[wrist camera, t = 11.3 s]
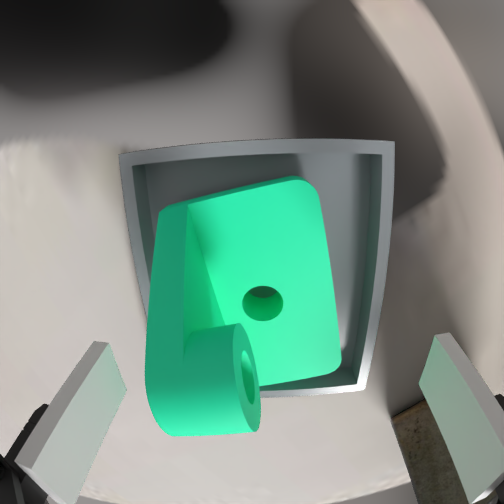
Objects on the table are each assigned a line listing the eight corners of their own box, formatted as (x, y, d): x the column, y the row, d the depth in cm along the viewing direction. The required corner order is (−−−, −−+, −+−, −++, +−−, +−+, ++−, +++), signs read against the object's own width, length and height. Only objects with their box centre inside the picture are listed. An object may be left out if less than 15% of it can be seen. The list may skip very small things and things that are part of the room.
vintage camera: (412, 461, 29) (450, 583, 11) (382, 414, 24) (439, 600, 6) (476, 423, 27) (530, 537, 9) (470, 360, 22) (565, 523, 4)
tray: (377, 140, 16) (394, 141, 14) (356, 367, 22) (364, 389, 20) (136, 151, 17) (118, 154, 15) (176, 372, 23) (168, 395, 20)
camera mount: (335, 345, 21) (369, 472, 11) (228, 365, 21) (211, 492, 12) (307, 169, 16) (367, 218, 7) (173, 201, 17) (79, 281, 8)
